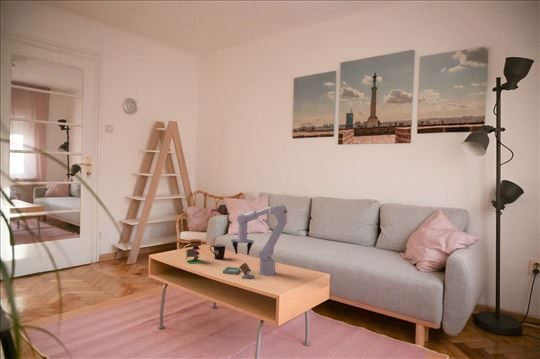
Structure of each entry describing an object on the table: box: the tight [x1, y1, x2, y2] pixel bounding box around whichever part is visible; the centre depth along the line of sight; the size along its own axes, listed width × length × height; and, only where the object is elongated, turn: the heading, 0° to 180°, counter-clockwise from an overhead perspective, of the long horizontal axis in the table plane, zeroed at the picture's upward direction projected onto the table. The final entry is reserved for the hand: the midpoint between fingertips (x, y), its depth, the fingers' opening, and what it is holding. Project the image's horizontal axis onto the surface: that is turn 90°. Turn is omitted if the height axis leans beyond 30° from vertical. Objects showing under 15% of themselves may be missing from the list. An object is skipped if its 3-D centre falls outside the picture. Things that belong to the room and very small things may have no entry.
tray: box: [222, 266, 241, 275], centre depth 225 cm, size 9×9×2 cm
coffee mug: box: [209, 243, 226, 261], centre depth 258 cm, size 12×9×10 cm
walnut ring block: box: [239, 262, 252, 275], centre depth 215 cm, size 4×4×5 cm
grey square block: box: [241, 271, 255, 280], centre depth 214 cm, size 6×6×4 cm
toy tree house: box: [185, 239, 204, 265], centre depth 247 cm, size 12×13×15 cm
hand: (242, 254), depth 229 cm, fingers open, 7 cm apart
